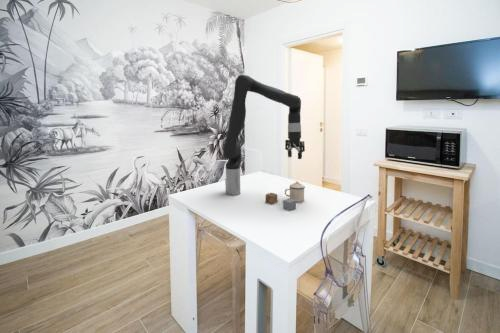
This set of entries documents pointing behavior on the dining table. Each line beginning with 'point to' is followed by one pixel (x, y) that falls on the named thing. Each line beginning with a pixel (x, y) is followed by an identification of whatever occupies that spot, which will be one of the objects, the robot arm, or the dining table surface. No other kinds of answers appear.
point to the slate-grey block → (289, 204)
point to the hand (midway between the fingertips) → (294, 158)
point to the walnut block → (271, 198)
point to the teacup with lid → (296, 192)
